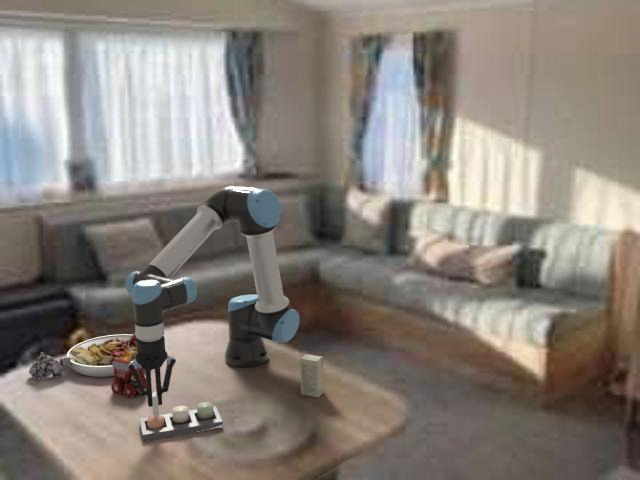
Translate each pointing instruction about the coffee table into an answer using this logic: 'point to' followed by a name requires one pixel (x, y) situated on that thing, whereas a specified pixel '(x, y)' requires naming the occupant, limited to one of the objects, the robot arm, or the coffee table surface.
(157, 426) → the button terracotta
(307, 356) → the skincare box
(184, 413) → the button cream
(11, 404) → the coffee table surface
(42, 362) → the mineral specimen
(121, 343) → the bowl
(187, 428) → the frame
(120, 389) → the toy fire truck
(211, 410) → the button sage
